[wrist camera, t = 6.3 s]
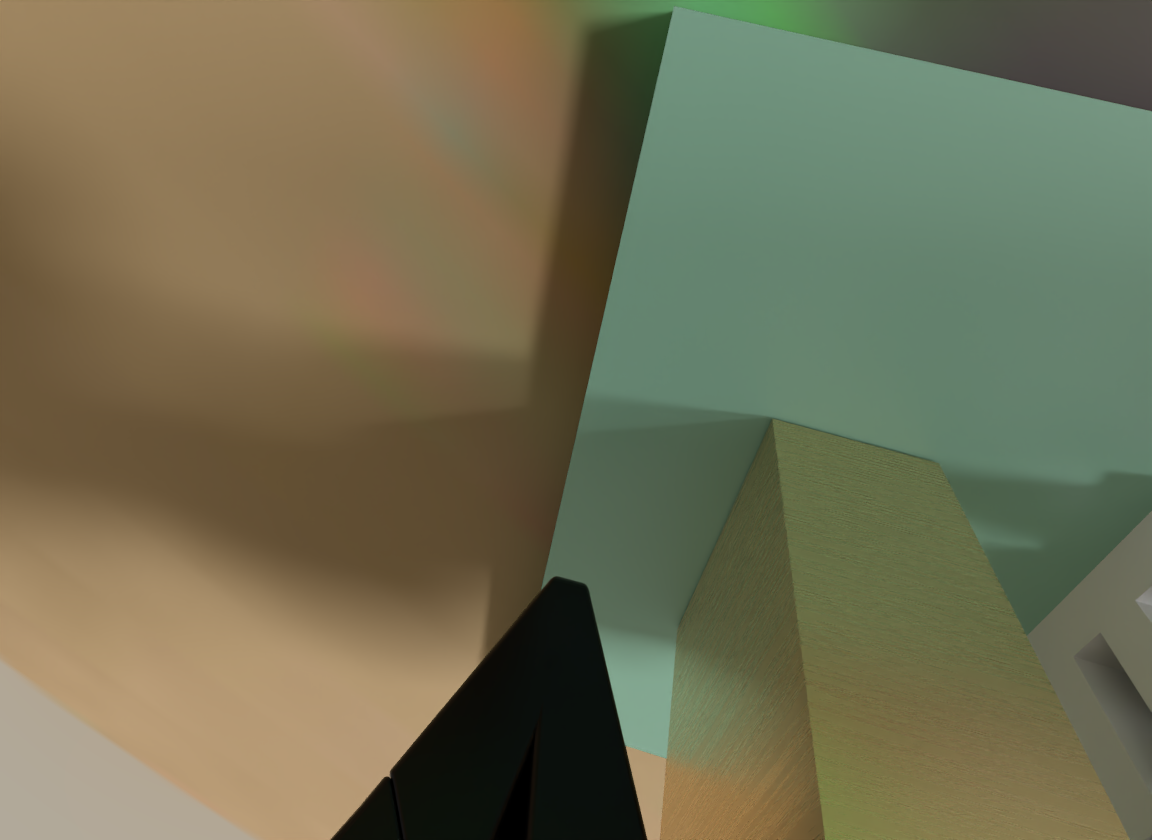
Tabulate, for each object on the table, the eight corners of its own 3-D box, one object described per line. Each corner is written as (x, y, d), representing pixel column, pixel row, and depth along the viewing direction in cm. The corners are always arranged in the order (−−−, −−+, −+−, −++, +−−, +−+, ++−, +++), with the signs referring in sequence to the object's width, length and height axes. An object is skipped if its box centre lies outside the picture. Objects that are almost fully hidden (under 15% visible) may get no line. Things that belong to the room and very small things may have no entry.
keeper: (1157, 521, 8) (1759, 1189, 3) (961, 714, 11) (1142, 1230, 6) (772, 417, 9) (832, 889, 4) (677, 629, 11) (641, 1054, 7)
